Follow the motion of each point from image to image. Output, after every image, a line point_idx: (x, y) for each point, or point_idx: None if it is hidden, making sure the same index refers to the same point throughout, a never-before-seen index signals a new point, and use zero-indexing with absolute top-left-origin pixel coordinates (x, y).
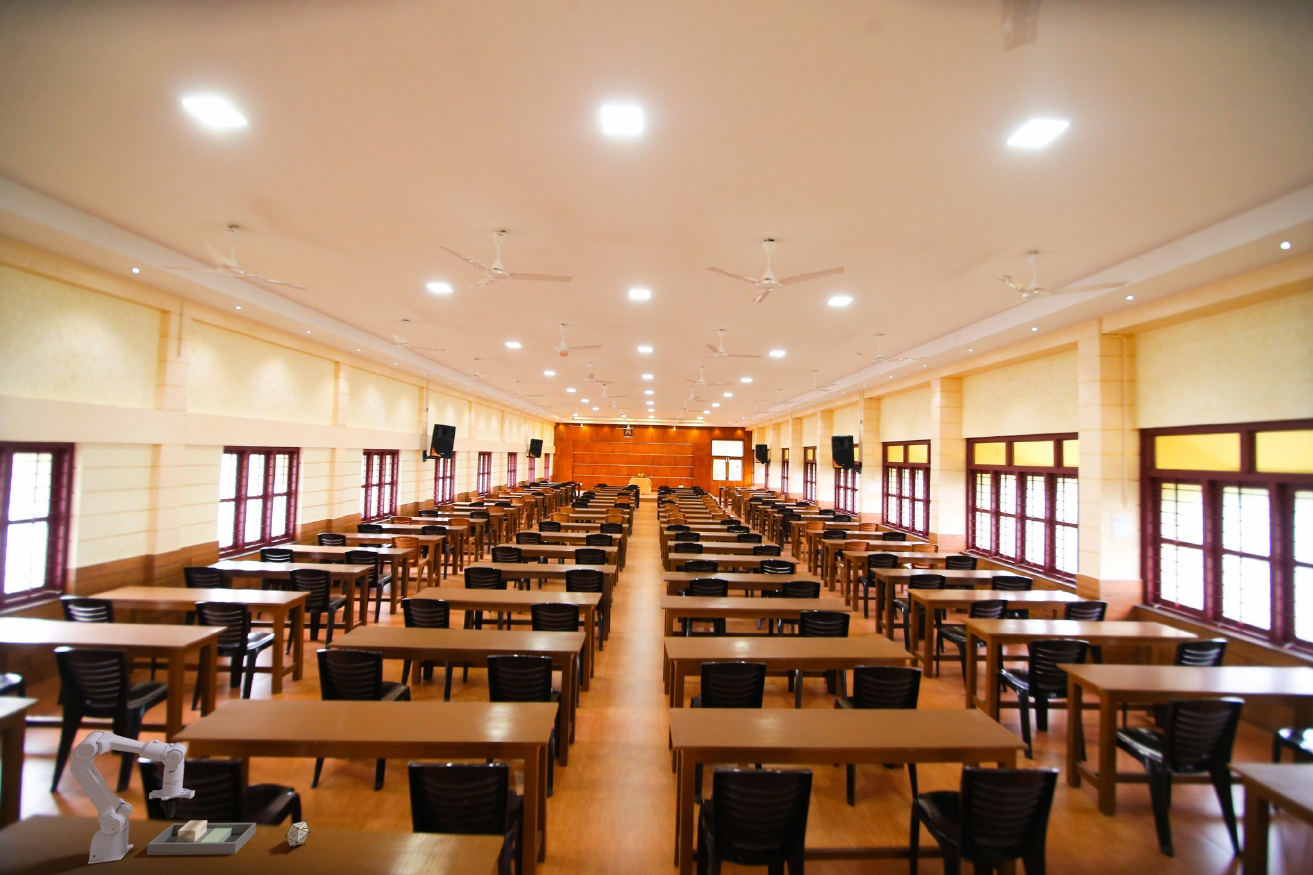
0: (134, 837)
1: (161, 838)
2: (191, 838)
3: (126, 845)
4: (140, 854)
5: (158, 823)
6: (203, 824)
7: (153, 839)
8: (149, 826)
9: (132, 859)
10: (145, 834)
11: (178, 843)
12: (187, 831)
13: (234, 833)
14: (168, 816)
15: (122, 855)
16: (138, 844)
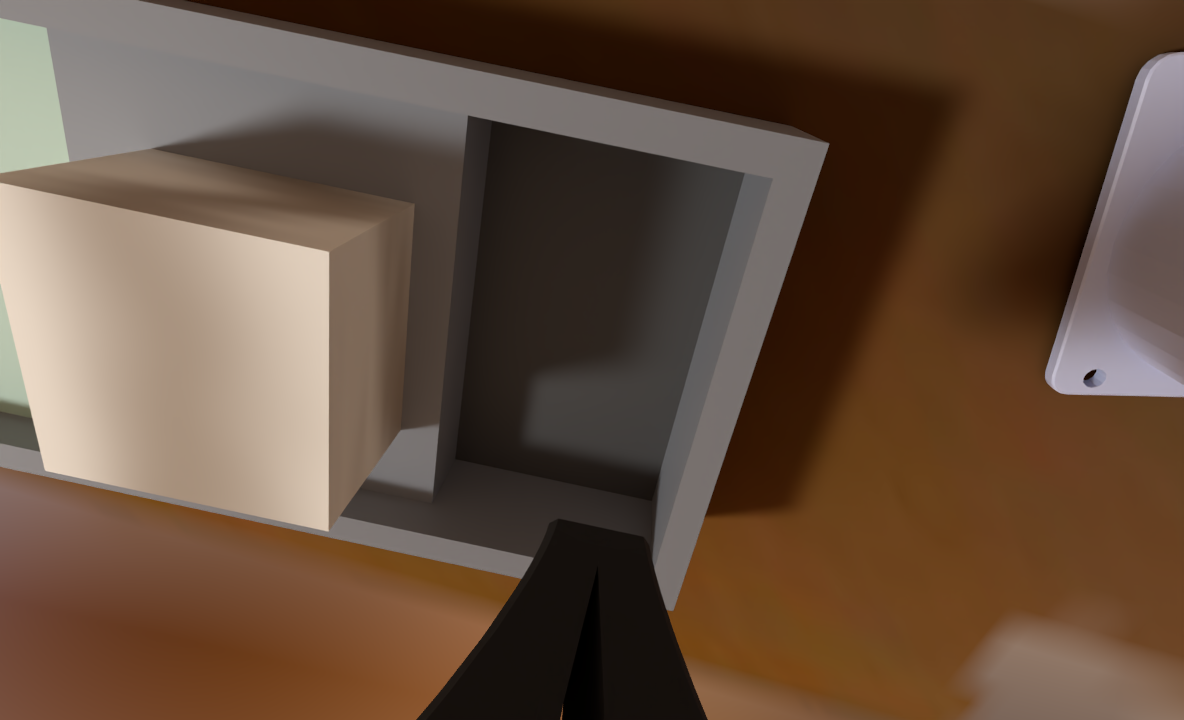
0: (1071, 545)
1: (705, 363)
2: (166, 166)
3: (1176, 272)
4: (883, 158)
5: (892, 708)
6: (42, 382)
7: (783, 277)
8: (966, 685)
9: (957, 43)
10: (963, 569)
11: (282, 45)
12: (151, 205)
13: None
14: (576, 566)
15: (1140, 142)
16: (983, 399)
